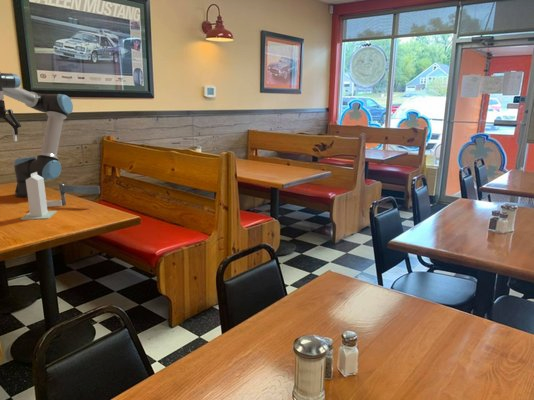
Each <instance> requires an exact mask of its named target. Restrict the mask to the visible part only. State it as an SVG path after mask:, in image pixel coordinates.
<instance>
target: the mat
mask: <svg viewBox="0 0 534 400" xmlns="http://www.w3.org/2000/svg"><path fill="white" fill-rule="evenodd" d="M57 212H58V210H48V213H47V214H45V215H43V216H30V211H29V212H28V213H26V214H25V215H24V216H22V217H21V218H20V221H24V220H25V221H26V220H28V221H29V220H31V221H33V220H49V219H51V217H53V216H54V215H55V214H56V213H57Z"/></svg>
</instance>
